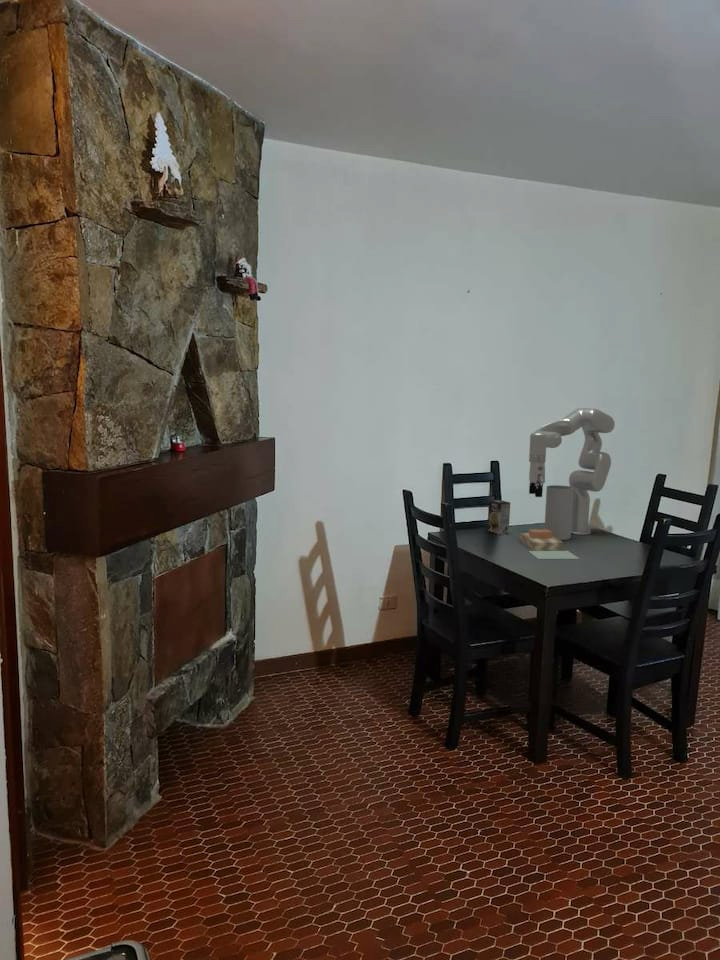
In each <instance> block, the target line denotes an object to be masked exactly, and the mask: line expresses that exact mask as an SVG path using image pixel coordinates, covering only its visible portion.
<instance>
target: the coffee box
mask: <svg viewBox="0 0 720 960" xmlns="http://www.w3.org/2000/svg"><path fill="white" fill-rule="evenodd" d="M488 507H489V508H488V509H489V510H488V526H487V528H488V529H487V530H488V532H489V531H491V532H490V533H492V532H494V533H493V534H495V533H497V534H496V535H499V534H502V535H505V534H504V533H510V515H511V502H510V501H505V500H501V499H490V500H489V506H488Z"/></svg>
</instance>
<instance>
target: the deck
mask: <svg viewBox="0 0 720 960" xmlns="http://www.w3.org/2000/svg"><path fill="white" fill-rule="evenodd" d="M519 542H520V543H521V544H522V545H523V546H525V547H526V548H527V549H529V551H564V542H563V540H559V539H557V538H556V537H554V536H553V535H552V539H533V538H531V537H530V536H529V532H519Z"/></svg>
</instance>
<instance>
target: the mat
mask: <svg viewBox="0 0 720 960" xmlns="http://www.w3.org/2000/svg"><path fill="white" fill-rule="evenodd" d="M528 552H529V554H531V555H533V557H535V558H536V559H537V560H580V557H578V556H576V555H574V554H573V553H572V552H570V551H569V550H563V551H531V550H528Z"/></svg>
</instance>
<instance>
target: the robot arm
mask: <svg viewBox="0 0 720 960" xmlns="http://www.w3.org/2000/svg"><path fill="white" fill-rule="evenodd" d="M615 423H616V422H615V420H614V418H613V417H612V416H611V415H609V414H608V413H605V412H604V411H602V410H600V409H597V408H594V407H593V408H591V407H589V408H587V407H579V408H576V409H574V410H573V411H572V412H570V413H569V414H567V415H566V416H565V417H563V418H562V419H558V420H555V421H553V422H550V423H547V424H544V425H542V426H540V427H539V428H537V429H536V430H535V431H534V432H531V433H530V436H529V451H528V452H529V455H528V456H529V457H528V462H529V473H528V476H529V477H528V480H529V484H528V485H529V486H528V487H529V488H528V489H529V490H528V494H530V495H531V494H532V495H534V497H535V498H542V497H543V491H544V490H543V488H544V484H545V483H546V464H545V463H546V458H547V456H546V455H547V448H549V449H550V448H551V449H556V448H559V446H560V445H561V444H562V440H563V439H562V437H564V436H570V435H572V434H574V433H575V432H576V431H578V430H579V429H580V428H581V429H582V431H583V434H584V442H583V446H582V449H581V451H580V456H579V458H578V466H579V467H580V468H581V470H580V469H578V470H573V471H572V472H571V473H570V474H569V477H568V484H569V485H568V486H569V487H573V488H574V489H573V506H572V523H571V533H572V534H571V535H576V536H577V535H579V536H580V535H581V536H583V535H584V536H586V535H590V534H592V530H598V529H599V528H598V527H599V526H598V525H595V524H590V523H589V522H590V521H589V518H590V517H589V516H590V503H591V498H590V494H589V492H594V493H595V492H600V491H602V490H603V488H604V486H605V485H606V484H605V483H606V482H607V478H608V475H609V472H610V469H611V464H612V459H611V456H610V454H609V453H608V452H606V451H605V452H604V451H601V449H602V447H603V441H602V437H601V436H600V434H608V433H611V432H612V431H613V430H614V429H615V426H616V425H615ZM599 433H600V434H599ZM582 469H583V470H582Z"/></svg>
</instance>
